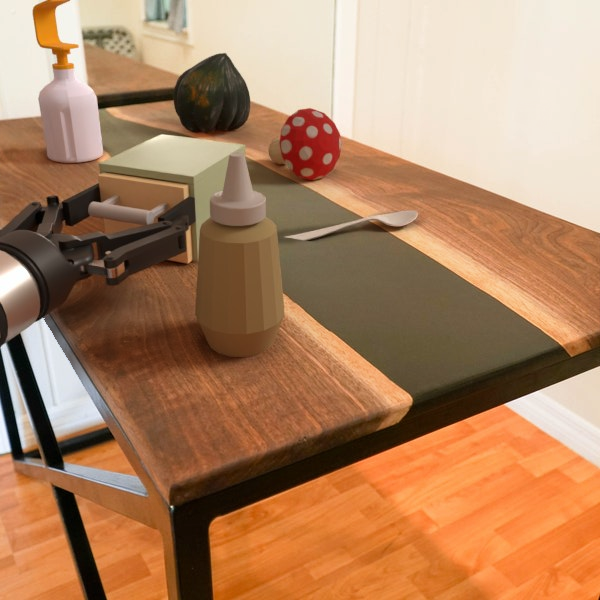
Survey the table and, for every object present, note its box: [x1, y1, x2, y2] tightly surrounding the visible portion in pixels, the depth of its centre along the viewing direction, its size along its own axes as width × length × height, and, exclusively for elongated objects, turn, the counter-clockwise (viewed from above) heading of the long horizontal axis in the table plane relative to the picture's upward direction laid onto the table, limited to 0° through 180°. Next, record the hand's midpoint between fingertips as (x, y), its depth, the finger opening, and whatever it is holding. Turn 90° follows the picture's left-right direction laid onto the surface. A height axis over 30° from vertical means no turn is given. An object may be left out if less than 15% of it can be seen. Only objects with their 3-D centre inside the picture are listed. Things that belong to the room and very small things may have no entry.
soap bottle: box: [32, 0, 104, 164], centre depth 106 cm, size 9×9×25 cm
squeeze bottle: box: [194, 152, 285, 358], centre depth 57 cm, size 8×8×18 cm
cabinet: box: [98, 133, 247, 263], centre depth 80 cm, size 14×12×11 cm
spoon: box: [285, 209, 419, 242], centre depth 85 cm, size 4×21×2 cm, turn 114°
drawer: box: [88, 172, 193, 264], centre depth 76 cm, size 17×11×9 cm, turn 161°
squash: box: [172, 52, 251, 134], centre depth 126 cm, size 14×15×15 cm
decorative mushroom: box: [268, 107, 342, 181], centre depth 105 cm, size 11×11×15 cm
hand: (146, 201), depth 73 cm, fingers closed on cabinet, drawer, 11 cm apart
